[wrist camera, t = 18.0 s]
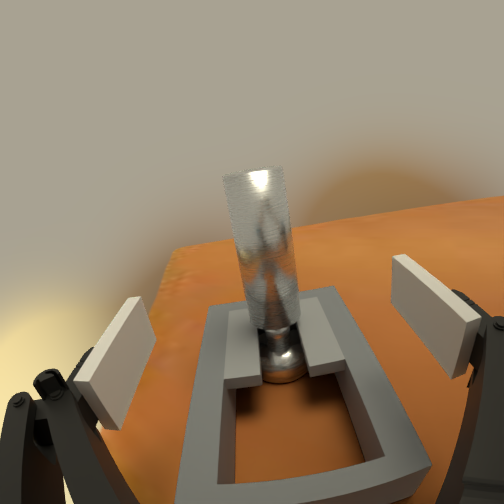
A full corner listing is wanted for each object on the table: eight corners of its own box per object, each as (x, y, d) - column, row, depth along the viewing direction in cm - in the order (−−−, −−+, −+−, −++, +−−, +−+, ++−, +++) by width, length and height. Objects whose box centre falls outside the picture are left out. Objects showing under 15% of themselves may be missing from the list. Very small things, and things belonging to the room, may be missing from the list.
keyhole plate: (412, 495, 10) (432, 464, 9) (199, 530, 11) (173, 508, 10) (335, 320, 29) (333, 285, 28) (218, 339, 30) (209, 306, 28)
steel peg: (321, 353, 25) (303, 163, 20) (291, 390, 21) (259, 174, 16) (275, 340, 28) (247, 168, 23) (242, 371, 25) (199, 180, 19)
